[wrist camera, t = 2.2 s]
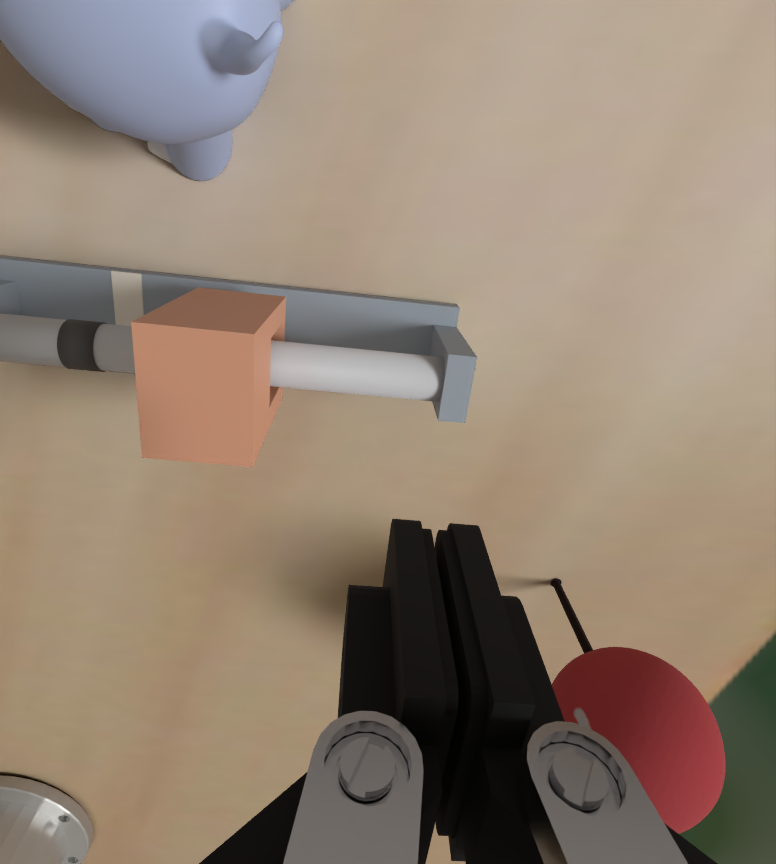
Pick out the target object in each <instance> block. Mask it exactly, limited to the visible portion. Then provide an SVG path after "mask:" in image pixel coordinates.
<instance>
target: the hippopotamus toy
mask: <svg viewBox="0 0 776 864" xmlns="http://www.w3.org/2000/svg"><path fill="white" fill-rule="evenodd" d="M292 1H293V0H0V40H1V41H2V43H3V44H4V45H5V47H6V48H7V49H8V50H9V52H10V53H11V54H12V55H13V56H14V58H15V59H16V60H17V61H18V62H19V63H20V64H21V65H22V66H23V67H24V69H25V70H26V71H27V72H28V73H29V74H30V75H31V76H33V77H34V78H35V79H36V80H37V81H38V82H39V83H40V84H41V85H42V86H44V87H45V88H46V89H47V90H48V91H50V92H51V93H52V94H53V95H55V96H56V97H57V98H59V99H60V100H62V101H63V102H64V103H65V104H66V105H68V106H69V107H70V108H72V109H73V110H75V111H77V112H80V113H82V114H83V115H85V116H87V117H89V118H90V119H91V120H92V121H93V122H94V123H95V124H97V125H98V126H99V127H101V128H103V129H105V130H107V131H111V132H121V133H123V134H126V135H129V136H131V137H134V138H138V139H141V140H145V141H148V144H147V146H148V149H149V151H150V152H152V153H153V154H155V155H157V156H158V157H160V158H162V159H163V160H165V161H168V162H170V163H171V164H173V165H174V166H175V167H176V169H177V170H178V171H179V172H180V173H182V174H183V175H185V176H186V177H188V178H190V179H193V180H196V181H206V180H210V179H213V178H215V177H216V176H218V175H219V174H220V173H221V172H222V171H223V170H224V168H225V167H226V165H227V163H228V161H229V159H230V156H231V152H232V129H234V128H236V127H237V126H239V125H240V124H241V123H243V122H244V121H245V120H246V119H247V118H248V117H249V115H250V114H251V113H252V112H253V110H254V109H255V107H256V105H257V104H258V102H259V100H260V98H261V96H262V94H263V92H264V90H265V87H266V85H267V83H268V80H269V78H270V75H271V72H272V69H273V66H274V63H275V60H276V56H277V52H278V47H279V44H280V42H281V40H282V37H283V27H282V25H281V11H283V10H284V9H286V8H287V7H288V6H289V5H290V4H291V3H292Z"/></svg>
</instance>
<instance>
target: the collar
mask: <svg viewBox="0 0 776 864" xmlns="http://www.w3.org/2000/svg"><path fill="white" fill-rule="evenodd" d="M285 314H286V297H285V296H275V295H266V294H256V293H247V292H238V291H228V290H219V289H209V288H200V287H198V288H196V289H194V290H192V291H190V292H188V293H186V294H184V295H182V296H180V297H178V298H176V299H175V300H173V301H171V302H169V303H167V304H165V305H163V306H161V307H159V308H157V309H155V310H153V311H151V312H149V313H147V314H146V315H144V316H142V317H140V318H138V319H136V320H134V321H132V322H131V327H132V339H133V352H134V364H135V376H136V388H137V401H138V413H139V425H140V437H141V450H142V458H153V459H165V460H177V461H189V462H201V463H214V464H226V465H238V466H250V467H253V465H254V463H255V460H256V458H257V456H258V453H259V451H260V449H261V447H262V444H263V442H264V440H265V437H266V435H267V433H268V430H269V428H270V426H271V423H272V421H273V419H274V417H275V414H276V412H277V410H278V407H279V405H280V403H281V400H282V398H283V387H274V386H270V363H271V340H274V341H284V342H285Z"/></svg>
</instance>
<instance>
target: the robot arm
mask: <svg viewBox="0 0 776 864" xmlns="http://www.w3.org/2000/svg"><path fill="white" fill-rule="evenodd" d="M435 821H436V829H437V833H438V835H439V836H449V844H450V853H451V861H466V864H717V863H716V862H714V861H713V860H712V859H710V858H709V857H708V856H706V855H705V854H704V853H703V852H701V851H700V850H699V849H697V848H696V847H695V846H693V845H692V844H691V843H690V842H688V841H687V840H685V839H684V838H683V837H682V836H680V835H679V834H678V833H677V832H675V831H674V830H673V829H671V828H670V827H669V826H667V825H666V824H665V823H664V822H663V820H662V819H661V817H660V815H659V814H658V812H657V810H656V809H655V807H654V805H653V804H652V802H651V800H650V798H649V797H648V795H647V793H646V792H645V790H644V788H643V787H642V785H641V783H640V782H639V780H638V778H637V777H636V775H635V773H634V771H633V770H632V768H631V766H630V765H629V763H628V762H627V761H626V759H625V758H624V757H623V755H622V754H621V753H620V751H619V750H618V749H617V748H616V747H615V746H614V745H612V744H611V743H610V742H609V741H608V740H607V739H606V738H605V737H603V736H602V735H600V734H598V733H597V732H595V731H593V730H591V729H590V728H588V727H585V726H582V725H579V724H576V723H573V722H565V720H564V718H563V715H562V712H561V709H560V707H559V704H558V701H557V698H556V696H555V693H554V690H553V687H552V685H551V682H550V679H549V676H548V674H547V671H546V668H545V665H544V663H543V660H542V657H541V655H540V652H539V649H538V646H537V644H536V641H535V638H534V635H533V633H532V630H531V627H530V624H529V622H528V619H527V616H526V613H525V611H524V608H523V605H522V603H521V601H520V599H518V598H517V597H514V596H501V594H500V591H499V587H498V584H497V581H496V578H495V575H494V572H493V569H492V565H491V562H490V559H489V556H488V553H487V550H486V547H485V544H484V540H483V537H482V534H481V531H480V528H479V526H477V525H464V524H452V523H450V524H449V526H448V528H447V531H446V530H439V531H438V533H437V537H436V542H435V548H434V542H433V537H432V531H431V529H422V525H421V522H420V521H414V520H401V519H392V523H391V529H390V536H389V544H388V551H387V559H386V566H385V574H384V581H383V587H371V586H357V585H349V587H348V595H347V605H346V615H345V625H344V637H343V649H342V662H341V677H340V692H339V707H338V719H336V720H334V721H333V722H331V723H330V724H329V725H328V726H327V728H326V729H325V730H324V731H323V732H322V733H321V734H320V736H319V738H318V741H317V743H316V745H315V747H314V750H313V753H312V757H311V761H310V765H309V768H308V772H307V773H305V774H304V775H303V776H302V777H301V778H300V779H298V780H297V781H296V782H295V783H294V784H293V785H291V786H290V787H289V788H288V789H287V790H285V791H284V792H283V793H282V794H281V795H280V796H278V797H277V798H276V799H275V800H274V801H272V802H271V803H270V804H269V805H268V806H267V807H265V808H264V809H263V810H262V811H261V812H259V813H258V814H257V815H256V816H255V817H254V818H252V819H251V820H250V821H249V822H248V823H247V824H245V825H244V826H243V827H242V828H241V829H239V830H238V831H237V832H236V833H235V834H234V835H232V836H231V837H230V838H229V839H228V840H226V841H225V842H224V843H223V844H222V845H221V846H219V847H218V848H217V849H216V850H215V851H213V852H212V853H211V854H210V855H209V856H208V857H206V858H205V859H204V860H203V861H202V862H201V863H199V864H425V863H426V858H427V854H428V850H429V846H430V842H431V837H432V833H433V829H434V825H435ZM93 834H94V832H93V827H92V823H91V821H90V819H89V817H88V815H87V813H86V812H85V811H84V810H83V808H82V807H81V806H80V805H79V804H78V803H77V802H75V801H74V800H73V799H72V798H71V797H69V796H68V795H66V794H64V793H63V792H61V791H59V790H58V789H55V788H53V787H51V786H48V785H46V784H44V783H40V782H37V781H34V780H30V779H26V778H21V777H15V776H4V775H0V864H81V863H82V861H83V860H84V858H85V857H86V855H87V853H88V850H89V848H90V846H91V843H92V841H93Z"/></svg>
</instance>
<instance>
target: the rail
mask: <svg viewBox="0 0 776 864" xmlns="http://www.w3.org/2000/svg"><path fill="white" fill-rule="evenodd" d="M198 287H200V288H209V289H219V290H228V291H238V292H247V293H256V294H266V295H275V296H285V297H286V314H285V342H284V341H274V340H271V363H270V386H274V387H285V388H295V389H306V390H317V391H328V392H338V393H349V394H360V395H371V396H381V397H392V398H403V399H414V400H424V401H432V402H433V405H434V409H435V412H436V415H437V418H438V421H449V422H460V423H465V420H466V415H467V409H468V404H469V398H470V393H471V387H472V382H473V376H474V371H475V365H476V360H477V356H476V355H475V354H474V352H473V351H472V349H471V348H470V346H469V345H468V343H467V342H466V340H465V339H464V337H463V336H462V335H461V333H460V332H459V330H458V329H457V321H458V315H459V309H460V308H459V306H458V305H457V304H450V303H440V302H431V301H422V300H412V299H403V298H394V297H384V296H375V295H366V294H356V293H347V292H338V291H328V290H319V289H310V288H300V287H291V286H282V285H272V284H263V283H254V282H244V281H235V280H226V279H216V278H207V277H198V276H188V275H179V274H170V273H160V272H151V271H142V270H132V269H123V268H114V267H104V266H95V265H86V264H76V263H67V262H58V261H48V260H39V259H30V258H20V257H11V256H2V255H0V361H5V362H16V363H27V364H38V365H48V366H59V367H66V368H68V369H79V370H89V371H100V372H105V371H113V372H124V373H134V374H135V364H134V352H133V339H132V327H131V322H132V321H134V320H136V319H138V318H140V317H142V316H144V315H146V314H147V313H149V312H151V311H153V310H155V309H157V308H159V307H161V306H163V305H165V304H167V303H169V302H171V301H173V300H175V299H176V298H178V297H180V296H182V295H184V294H186V293H188V292H190V291H192V290H194V289H196V288H198Z"/></svg>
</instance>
